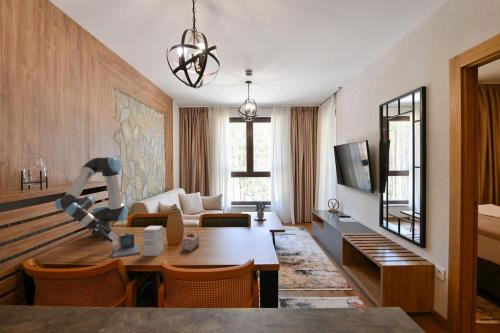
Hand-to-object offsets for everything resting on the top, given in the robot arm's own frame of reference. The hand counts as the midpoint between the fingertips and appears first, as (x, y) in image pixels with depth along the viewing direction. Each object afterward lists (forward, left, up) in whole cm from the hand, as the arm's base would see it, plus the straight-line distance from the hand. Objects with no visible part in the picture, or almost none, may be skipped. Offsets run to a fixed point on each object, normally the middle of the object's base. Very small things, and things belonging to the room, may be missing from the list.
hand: (116, 241), depth 173 cm
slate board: (+4, +6, -6) cm, 10 cm away
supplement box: (+16, +22, -7) cm, 28 cm away
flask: (0, +6, -5) cm, 8 cm away
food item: (+17, +46, -7) cm, 49 cm away
